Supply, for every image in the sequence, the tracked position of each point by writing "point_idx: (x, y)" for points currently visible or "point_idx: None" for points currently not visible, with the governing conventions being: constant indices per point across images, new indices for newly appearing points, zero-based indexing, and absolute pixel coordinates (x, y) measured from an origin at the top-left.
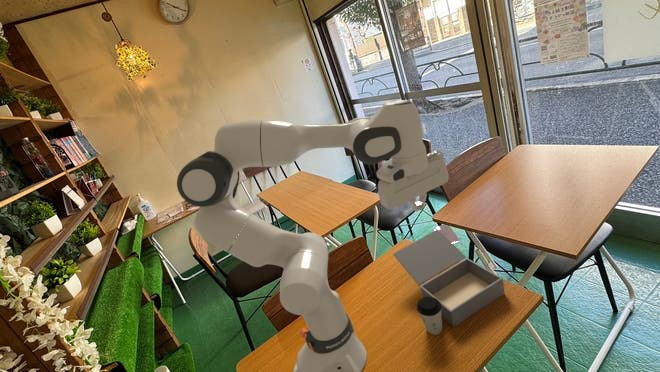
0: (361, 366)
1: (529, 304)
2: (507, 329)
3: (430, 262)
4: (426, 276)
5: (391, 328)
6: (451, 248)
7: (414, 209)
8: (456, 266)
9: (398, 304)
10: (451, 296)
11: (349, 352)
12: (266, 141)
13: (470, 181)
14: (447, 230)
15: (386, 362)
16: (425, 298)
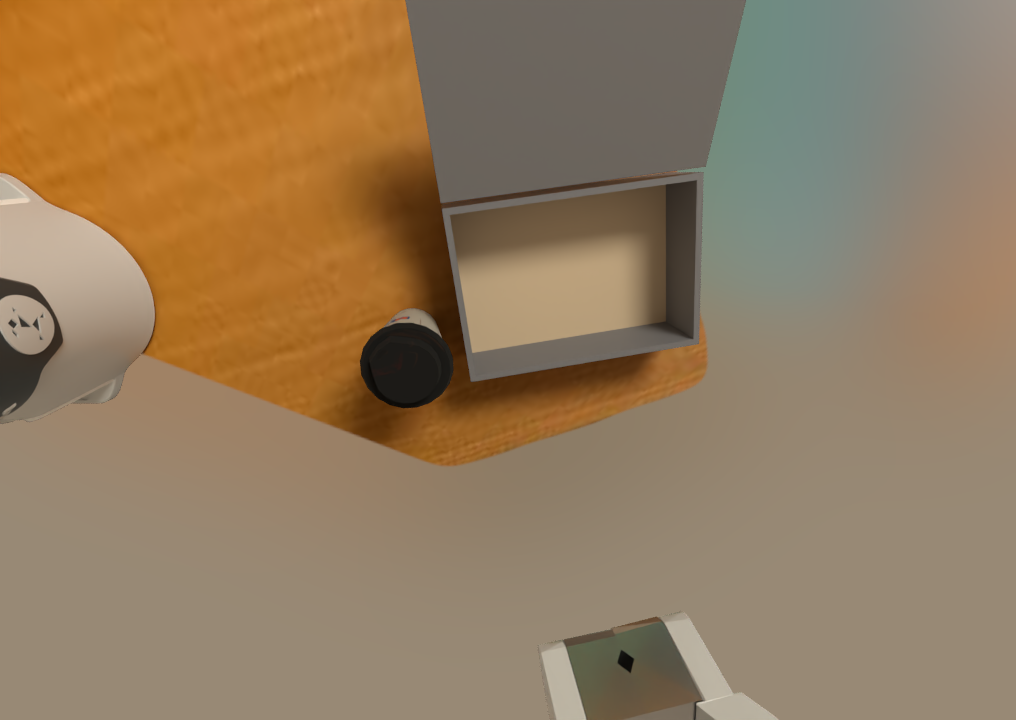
0: (125, 364)
1: (681, 385)
2: (577, 421)
3: (557, 123)
4: (494, 182)
5: (275, 262)
6: (699, 96)
7: (545, 686)
8: (636, 188)
9: (342, 165)
10: (534, 252)
11: (40, 410)
12: None
13: None
14: None
15: (220, 371)
16: (408, 351)
